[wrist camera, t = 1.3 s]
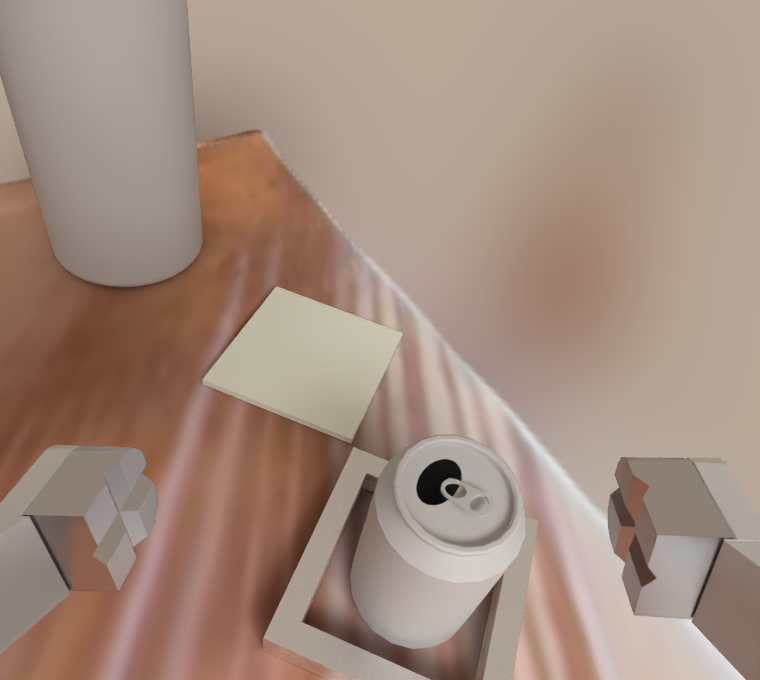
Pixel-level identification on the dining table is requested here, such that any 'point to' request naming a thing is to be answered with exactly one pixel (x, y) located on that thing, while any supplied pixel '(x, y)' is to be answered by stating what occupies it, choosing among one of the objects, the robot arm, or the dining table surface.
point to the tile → (307, 363)
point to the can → (435, 539)
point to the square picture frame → (350, 663)
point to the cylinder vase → (107, 132)
